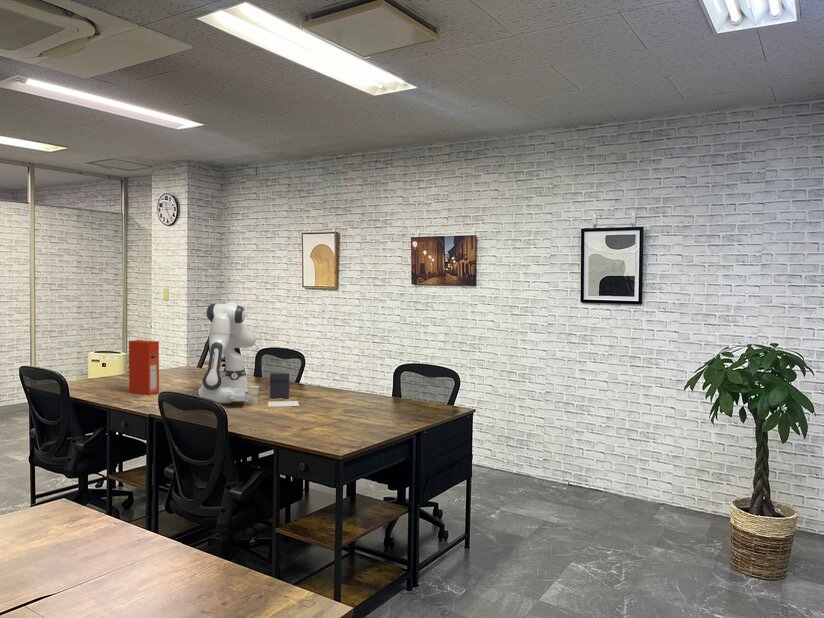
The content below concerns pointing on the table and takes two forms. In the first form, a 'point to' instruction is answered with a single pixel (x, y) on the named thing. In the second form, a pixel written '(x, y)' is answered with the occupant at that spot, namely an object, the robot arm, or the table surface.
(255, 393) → the block
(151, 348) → the file binder
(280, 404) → the mat
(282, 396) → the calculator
